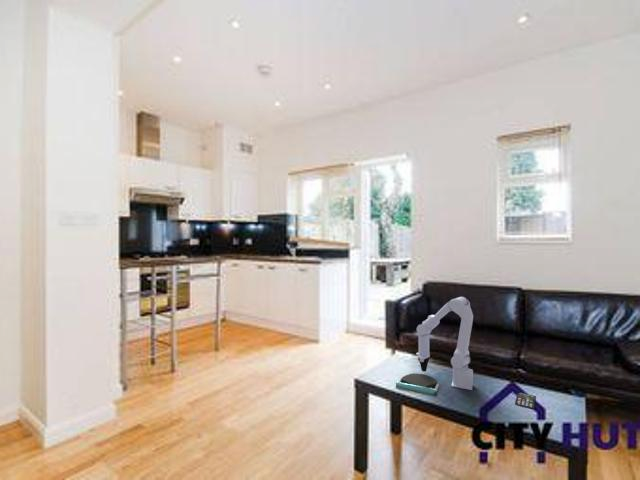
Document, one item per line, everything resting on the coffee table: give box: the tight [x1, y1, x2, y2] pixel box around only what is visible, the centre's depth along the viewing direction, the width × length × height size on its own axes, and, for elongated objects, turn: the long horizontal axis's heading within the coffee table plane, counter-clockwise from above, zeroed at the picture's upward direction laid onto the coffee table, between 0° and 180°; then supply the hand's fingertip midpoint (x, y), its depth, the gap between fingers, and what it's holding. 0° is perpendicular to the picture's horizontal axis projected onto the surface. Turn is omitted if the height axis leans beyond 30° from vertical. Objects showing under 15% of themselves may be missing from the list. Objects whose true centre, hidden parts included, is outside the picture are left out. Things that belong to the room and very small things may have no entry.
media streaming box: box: [401, 372, 438, 389], centre depth 176 cm, size 15×15×3 cm
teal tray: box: [395, 376, 440, 396], centre depth 172 cm, size 19×10×2 cm, turn 63°
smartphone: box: [514, 392, 537, 410], centre depth 158 cm, size 7×1×15 cm
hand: (424, 371), depth 188 cm, fingers closed
